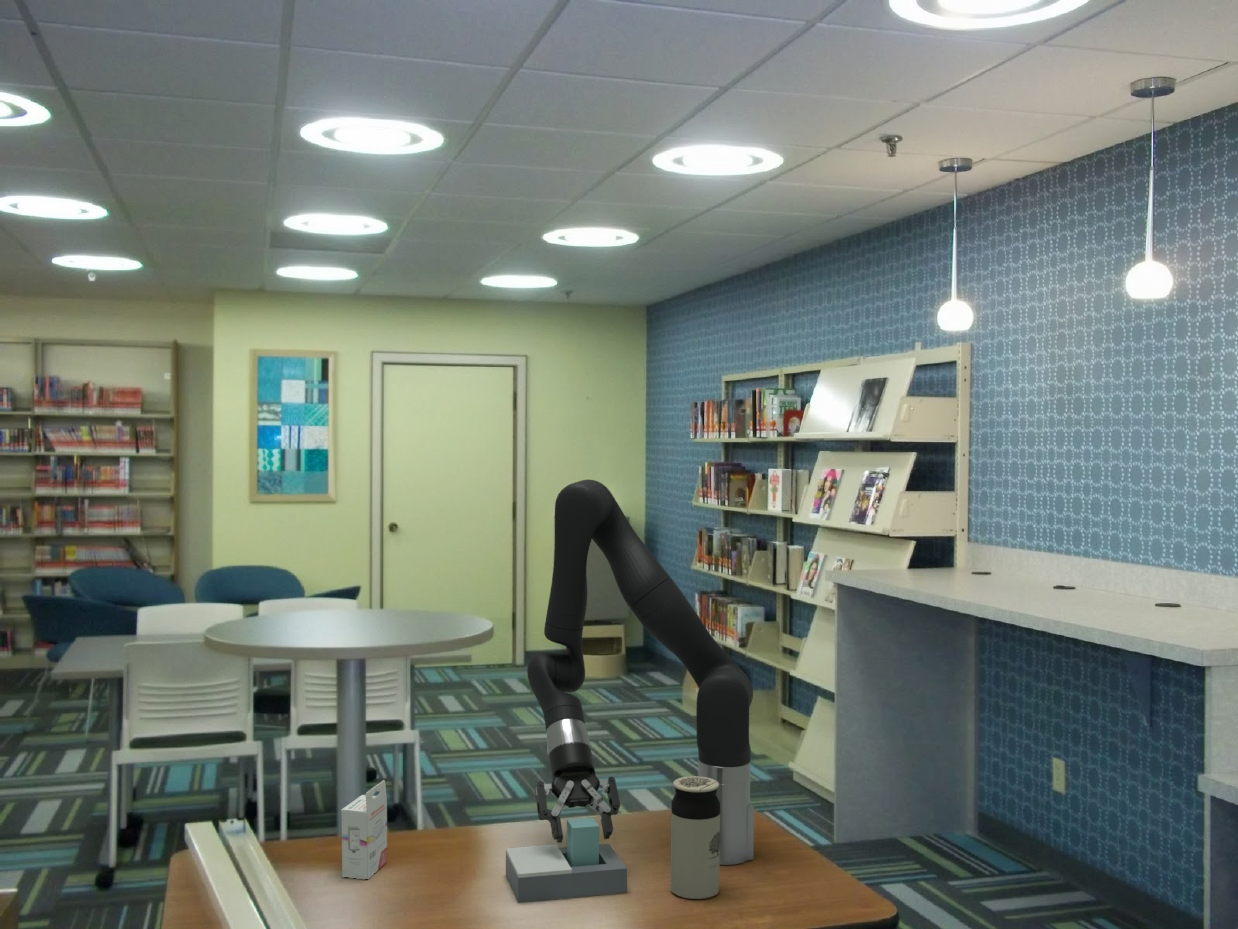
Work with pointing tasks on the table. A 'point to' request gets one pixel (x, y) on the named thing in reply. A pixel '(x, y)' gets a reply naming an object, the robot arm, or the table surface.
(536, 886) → the rail
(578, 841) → the teal peg
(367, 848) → the ink cartridge box
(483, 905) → the table surface
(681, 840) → the travel mug
